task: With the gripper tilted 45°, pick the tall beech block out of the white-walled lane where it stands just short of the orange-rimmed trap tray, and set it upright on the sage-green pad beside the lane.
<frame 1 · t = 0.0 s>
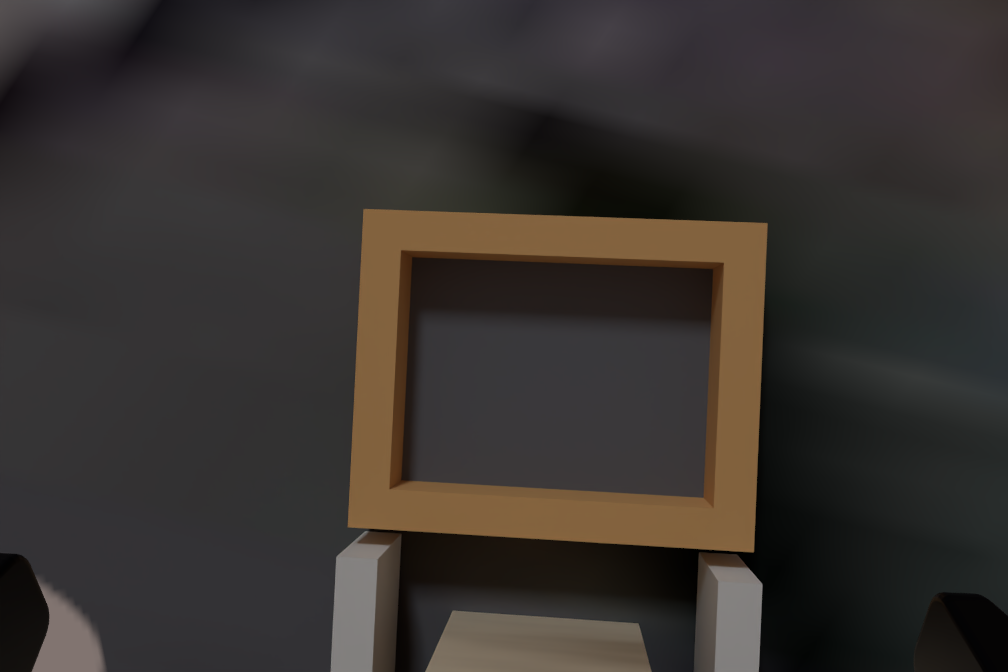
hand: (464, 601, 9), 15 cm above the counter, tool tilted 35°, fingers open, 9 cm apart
trap tray: (555, 375, 24), on the counter
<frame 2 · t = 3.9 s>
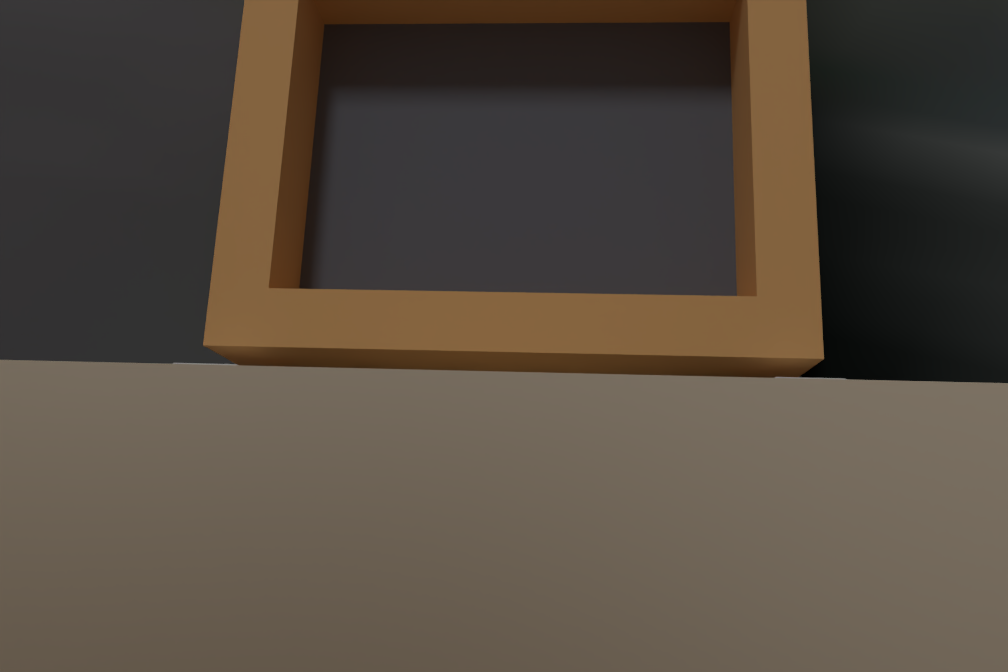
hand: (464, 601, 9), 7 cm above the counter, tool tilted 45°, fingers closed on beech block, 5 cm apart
beech block: (502, 665, 15), on the counter, touching gripper
trap tray: (519, 172, 17), on the counter
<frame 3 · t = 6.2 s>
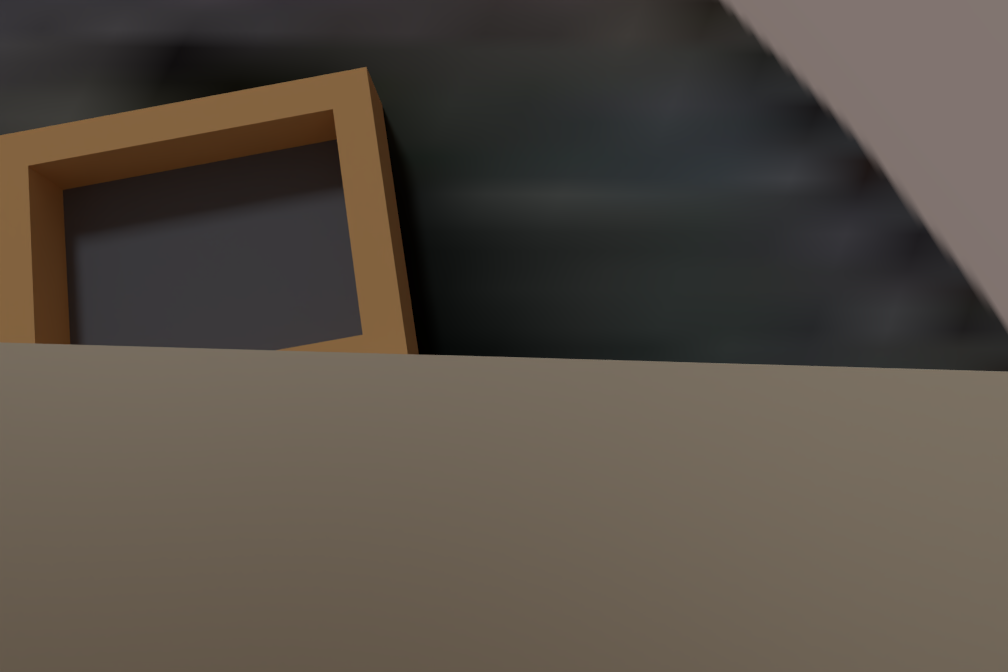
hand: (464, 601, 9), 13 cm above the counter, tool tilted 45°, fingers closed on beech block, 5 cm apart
beech block: (509, 663, 15), point 6 cm above the counter, touching gripper
trap tray: (219, 271, 24), on the counter
when the fingers open (8 cm above the counter, at t = 8.5 s): beech block moves 1 cm, resting on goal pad.
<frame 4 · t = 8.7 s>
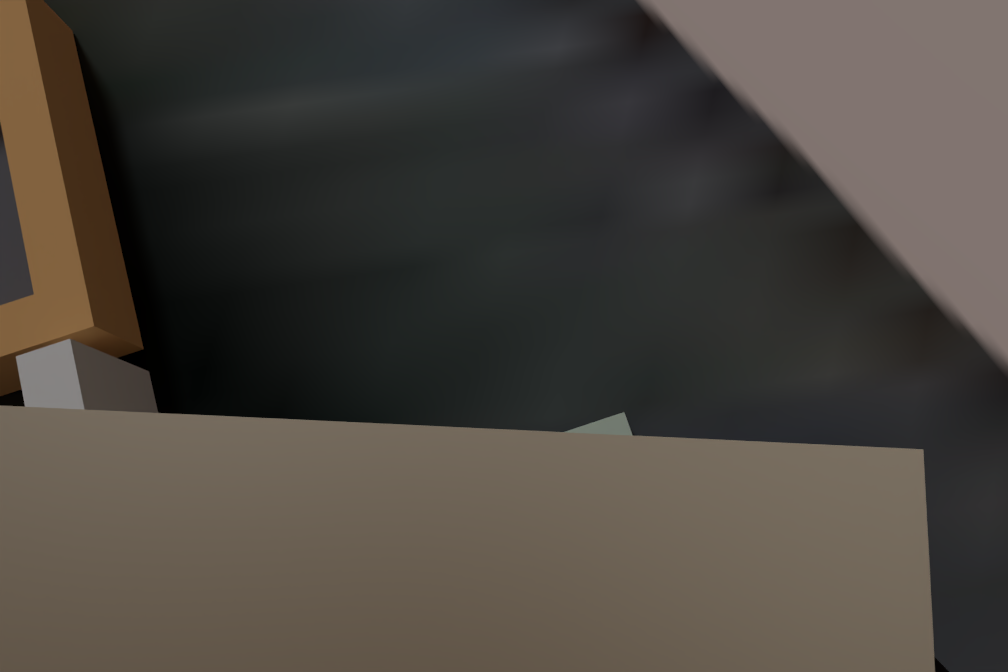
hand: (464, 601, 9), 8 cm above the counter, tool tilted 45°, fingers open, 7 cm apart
beech block: (505, 655, 16), point 1 cm above the counter, touching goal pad
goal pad: (509, 649, 16), on the counter
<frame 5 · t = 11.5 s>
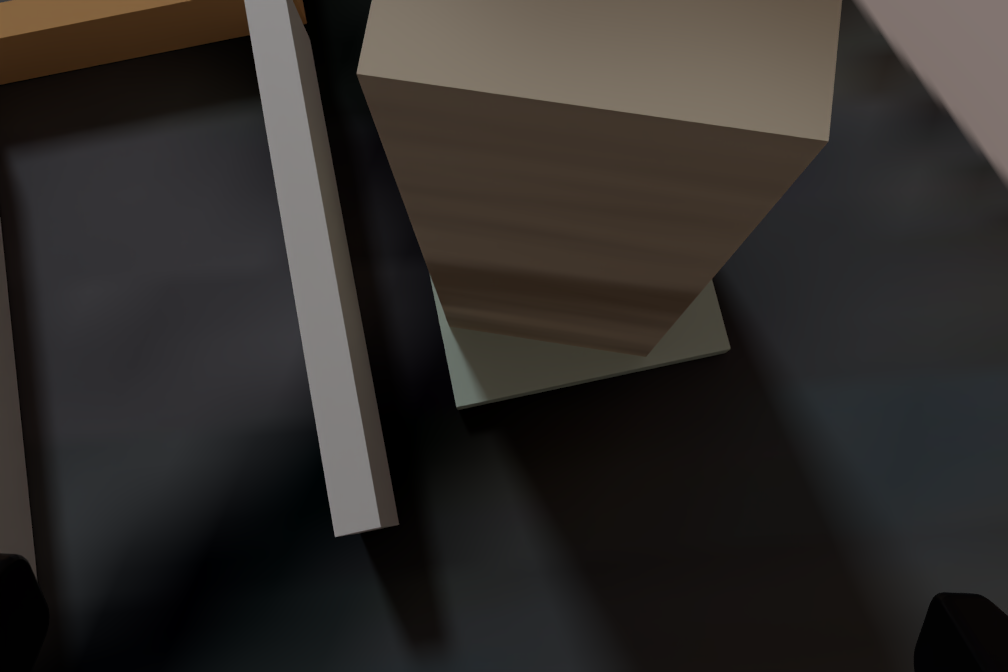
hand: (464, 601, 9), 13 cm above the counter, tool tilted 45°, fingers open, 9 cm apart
beech block: (561, 247, 22), point 1 cm above the counter, touching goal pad
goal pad: (562, 252, 23), on the counter
lane: (153, 227, 23), on the counter
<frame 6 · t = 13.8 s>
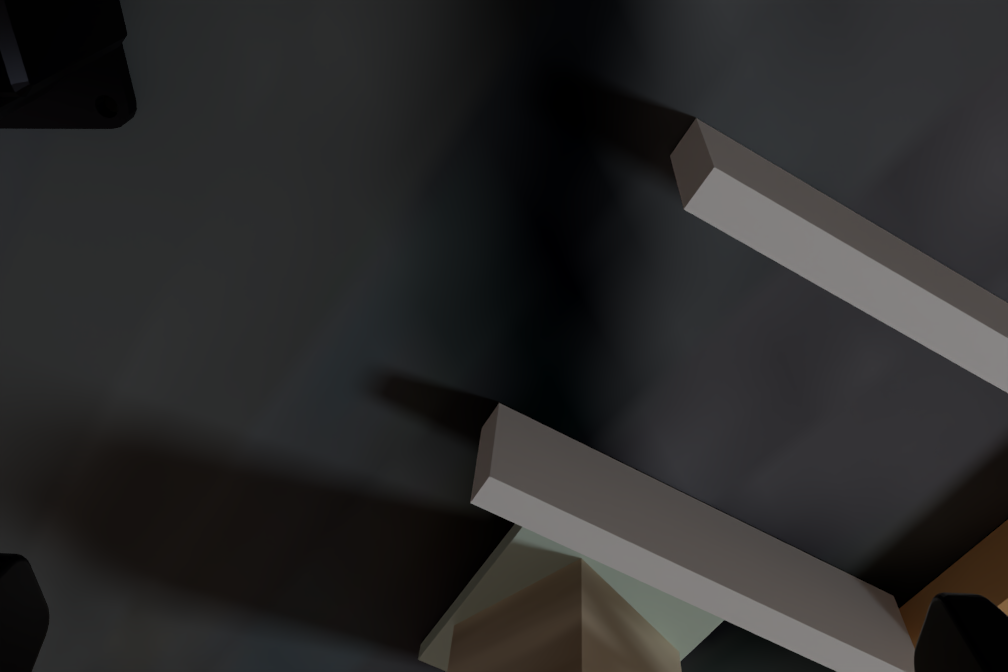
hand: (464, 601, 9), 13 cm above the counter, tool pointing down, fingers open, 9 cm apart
beech block: (566, 638, 27), point 1 cm above the counter, touching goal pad
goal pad: (566, 624, 28), on the counter
lane: (865, 443, 23), on the counter
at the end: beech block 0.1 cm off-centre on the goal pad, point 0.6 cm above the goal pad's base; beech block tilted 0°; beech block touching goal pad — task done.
